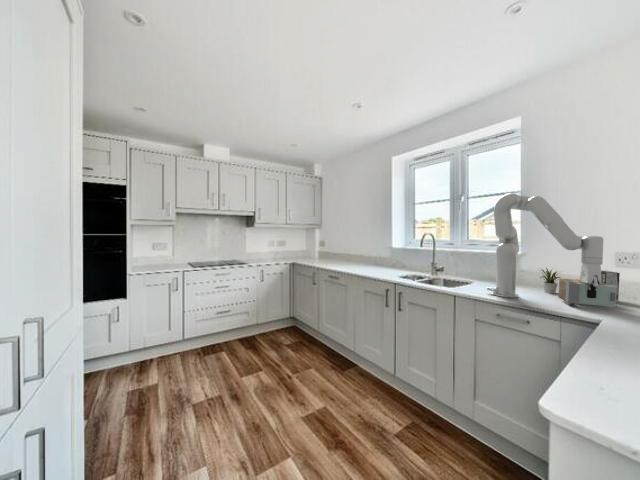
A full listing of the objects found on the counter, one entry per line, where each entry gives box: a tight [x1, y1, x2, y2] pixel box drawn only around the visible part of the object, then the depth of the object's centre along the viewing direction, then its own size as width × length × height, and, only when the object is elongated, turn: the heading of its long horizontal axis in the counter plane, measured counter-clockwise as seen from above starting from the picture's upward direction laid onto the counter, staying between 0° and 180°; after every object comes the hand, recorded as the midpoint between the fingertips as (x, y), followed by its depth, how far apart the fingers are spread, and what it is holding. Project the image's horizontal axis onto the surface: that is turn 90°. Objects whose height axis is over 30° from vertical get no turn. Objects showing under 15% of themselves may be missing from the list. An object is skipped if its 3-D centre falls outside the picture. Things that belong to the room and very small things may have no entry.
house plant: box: [537, 267, 563, 294], centre depth 168 cm, size 14×14×16 cm
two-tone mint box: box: [565, 282, 617, 308], centre depth 134 cm, size 18×4×10 cm, turn 63°
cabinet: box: [558, 277, 607, 308], centre depth 142 cm, size 18×22×11 cm
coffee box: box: [601, 270, 620, 303], centre depth 149 cm, size 9×6×16 cm
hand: (590, 297), depth 134 cm, fingers closed on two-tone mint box, 2 cm apart
